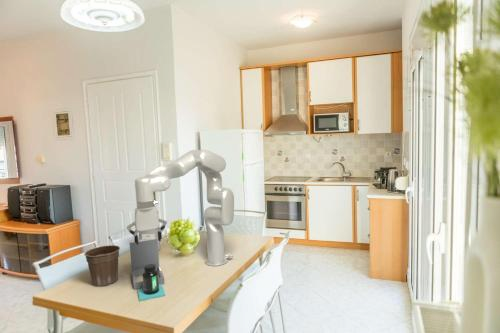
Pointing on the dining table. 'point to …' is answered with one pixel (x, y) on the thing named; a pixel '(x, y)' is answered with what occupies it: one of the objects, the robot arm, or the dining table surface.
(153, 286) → the supplement bottle
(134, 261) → the case
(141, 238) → the cylinder vase
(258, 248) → the dining table surface
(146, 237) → the ink box
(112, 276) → the plant pot
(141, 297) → the mat
